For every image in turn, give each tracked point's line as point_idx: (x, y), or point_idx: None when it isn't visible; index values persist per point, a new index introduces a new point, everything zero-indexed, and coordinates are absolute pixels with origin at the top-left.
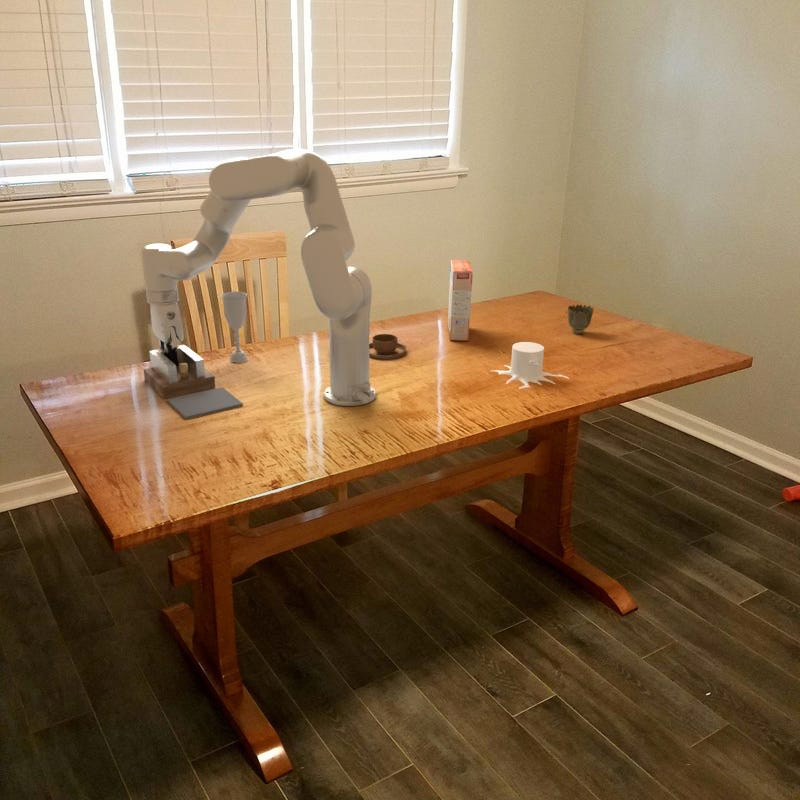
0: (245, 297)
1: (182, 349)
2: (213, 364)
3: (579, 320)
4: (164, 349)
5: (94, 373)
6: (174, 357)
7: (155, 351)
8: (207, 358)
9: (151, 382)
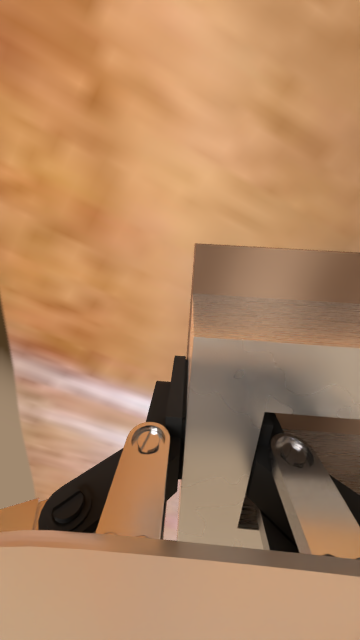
0: None
1: (319, 405)
2: (174, 99)
3: None
4: (210, 495)
5: (45, 497)
6: (276, 422)
7: (209, 539)
8: (58, 82)
9: None
